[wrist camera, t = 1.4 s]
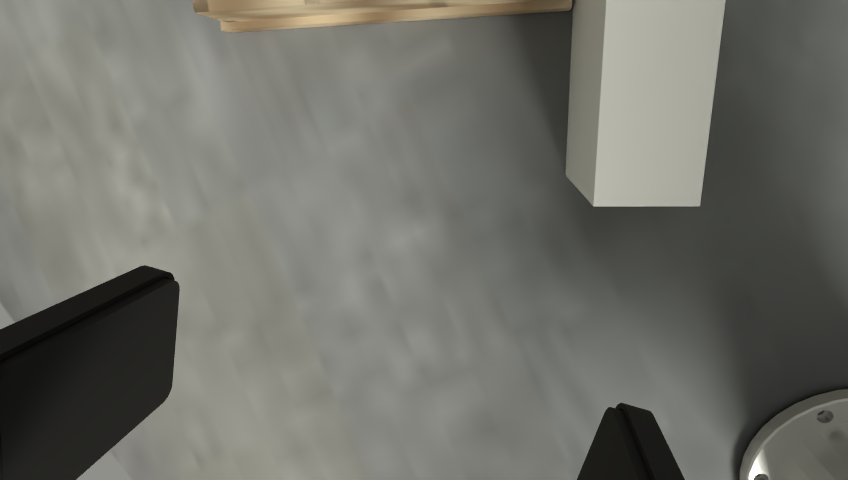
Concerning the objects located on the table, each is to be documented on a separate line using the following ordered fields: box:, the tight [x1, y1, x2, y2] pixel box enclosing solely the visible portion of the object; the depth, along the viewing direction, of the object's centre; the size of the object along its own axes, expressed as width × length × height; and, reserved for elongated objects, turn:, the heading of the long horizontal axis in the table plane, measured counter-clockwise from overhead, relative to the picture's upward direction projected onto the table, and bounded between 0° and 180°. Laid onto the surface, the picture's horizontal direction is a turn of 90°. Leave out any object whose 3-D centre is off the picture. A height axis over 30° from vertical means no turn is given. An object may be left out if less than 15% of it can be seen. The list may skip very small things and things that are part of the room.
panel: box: [566, 0, 726, 207], centre depth 22 cm, size 4×10×9 cm, turn 2°
